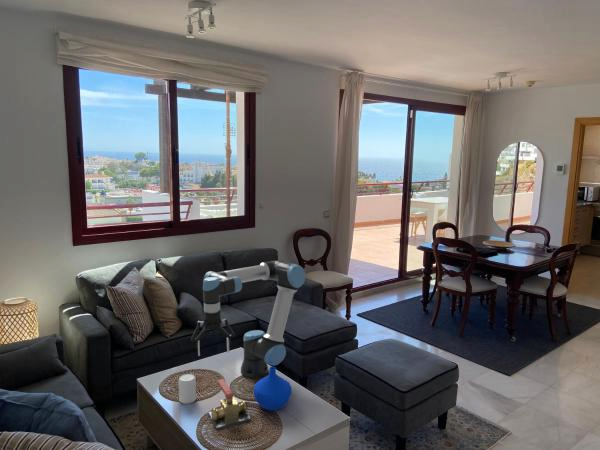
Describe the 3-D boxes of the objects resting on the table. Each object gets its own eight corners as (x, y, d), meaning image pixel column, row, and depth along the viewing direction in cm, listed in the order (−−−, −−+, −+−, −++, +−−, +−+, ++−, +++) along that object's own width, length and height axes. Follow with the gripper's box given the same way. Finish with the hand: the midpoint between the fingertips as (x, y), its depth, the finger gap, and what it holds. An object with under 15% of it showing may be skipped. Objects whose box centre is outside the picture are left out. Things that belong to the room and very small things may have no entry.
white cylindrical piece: (191, 405, 215) (191, 382, 213) (176, 403, 216) (175, 380, 214) (198, 396, 223) (198, 374, 221) (183, 394, 224) (183, 372, 222)
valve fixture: (241, 406, 215) (241, 386, 213) (250, 420, 203) (250, 399, 202) (208, 414, 208) (208, 394, 206) (216, 429, 196) (216, 408, 195)
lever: (234, 397, 203) (234, 393, 203) (226, 399, 201) (226, 395, 201) (224, 381, 216) (224, 378, 216) (217, 383, 215) (216, 380, 215)
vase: (248, 399, 221) (248, 363, 218) (283, 391, 228) (283, 356, 225) (260, 419, 204) (260, 380, 201) (297, 410, 211) (297, 373, 208)
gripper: (238, 305, 215) (239, 346, 218) (184, 310, 209) (186, 352, 212) (239, 310, 207) (240, 353, 211) (184, 315, 201) (186, 359, 205)
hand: (213, 353), depth 212 cm, fingers open, 13 cm apart
